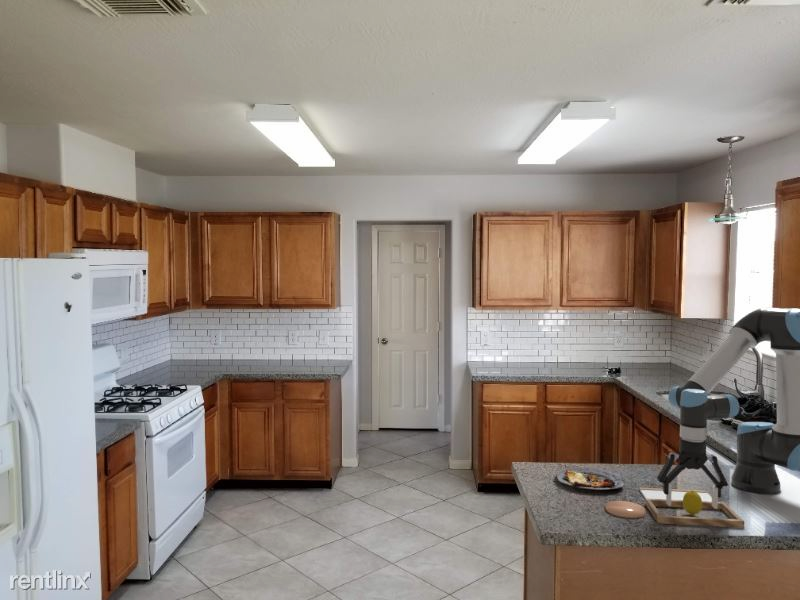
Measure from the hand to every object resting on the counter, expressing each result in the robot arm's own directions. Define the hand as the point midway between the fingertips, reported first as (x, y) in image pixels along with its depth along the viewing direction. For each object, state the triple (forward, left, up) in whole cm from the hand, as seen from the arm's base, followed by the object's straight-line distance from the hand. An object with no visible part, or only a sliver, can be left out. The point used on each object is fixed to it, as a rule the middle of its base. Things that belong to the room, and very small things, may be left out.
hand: (691, 506), depth 185 cm
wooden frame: (0, 0, -3) cm, 3 cm away
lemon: (0, 0, -3) cm, 3 cm away
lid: (0, -15, -3) cm, 15 cm away
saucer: (+20, -1, -3) cm, 20 cm away
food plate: (+27, -27, -4) cm, 38 cm away
